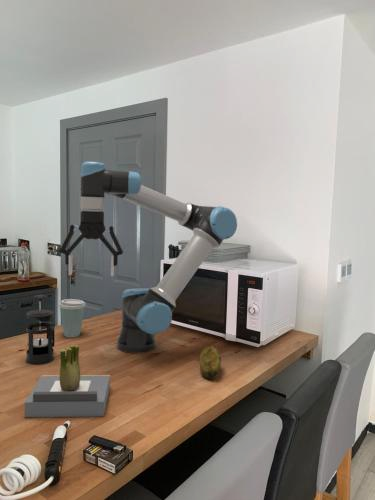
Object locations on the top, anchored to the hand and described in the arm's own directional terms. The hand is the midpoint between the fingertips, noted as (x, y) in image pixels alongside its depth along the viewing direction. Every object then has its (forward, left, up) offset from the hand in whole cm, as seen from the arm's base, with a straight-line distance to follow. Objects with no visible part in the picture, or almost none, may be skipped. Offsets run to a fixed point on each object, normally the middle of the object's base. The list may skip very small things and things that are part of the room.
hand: (91, 275), depth 131 cm
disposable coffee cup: (+12, -33, -32) cm, 47 cm away
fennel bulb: (+2, +25, -28) cm, 37 cm away
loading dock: (+2, +24, -32) cm, 40 cm away
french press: (+18, -7, -32) cm, 37 cm away
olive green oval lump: (-40, +5, -32) cm, 52 cm away
